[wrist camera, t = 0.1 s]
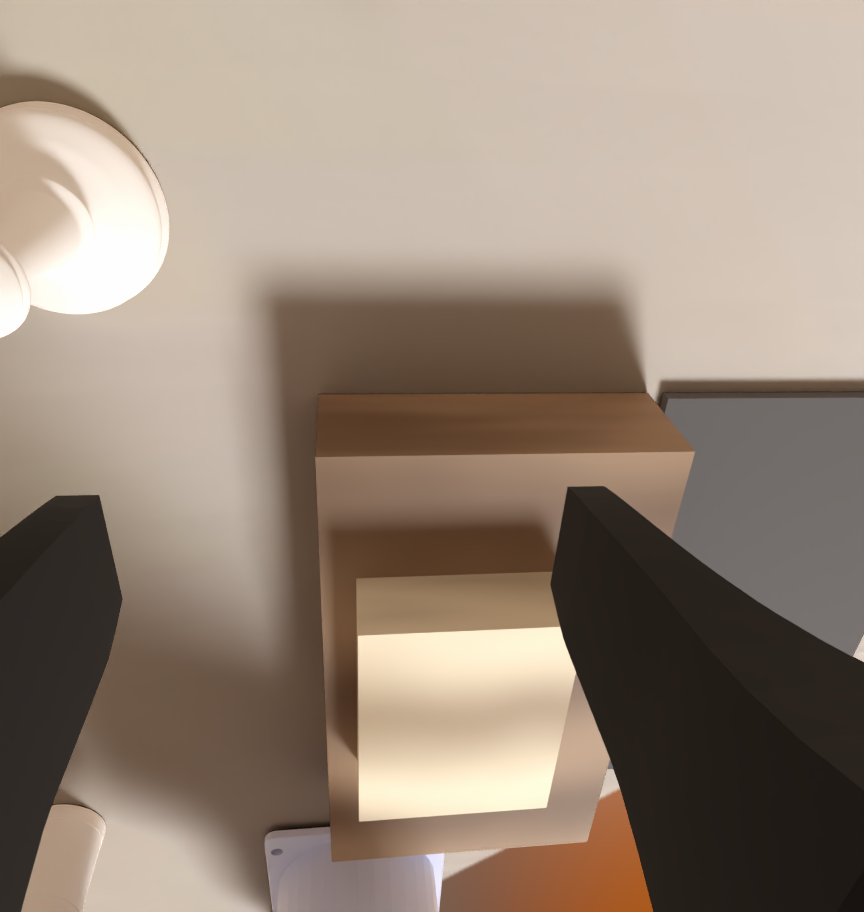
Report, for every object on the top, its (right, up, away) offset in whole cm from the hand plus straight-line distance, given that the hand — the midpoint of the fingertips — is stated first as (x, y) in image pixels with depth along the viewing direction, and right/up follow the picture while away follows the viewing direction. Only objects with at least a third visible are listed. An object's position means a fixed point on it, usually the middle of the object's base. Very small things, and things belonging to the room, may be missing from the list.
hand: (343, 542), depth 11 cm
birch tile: (+2, -5, +11) cm, 13 cm away
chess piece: (-8, +7, +7) cm, 12 cm away
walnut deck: (+3, -4, +15) cm, 16 cm away
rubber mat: (+13, -4, +16) cm, 21 cm away
